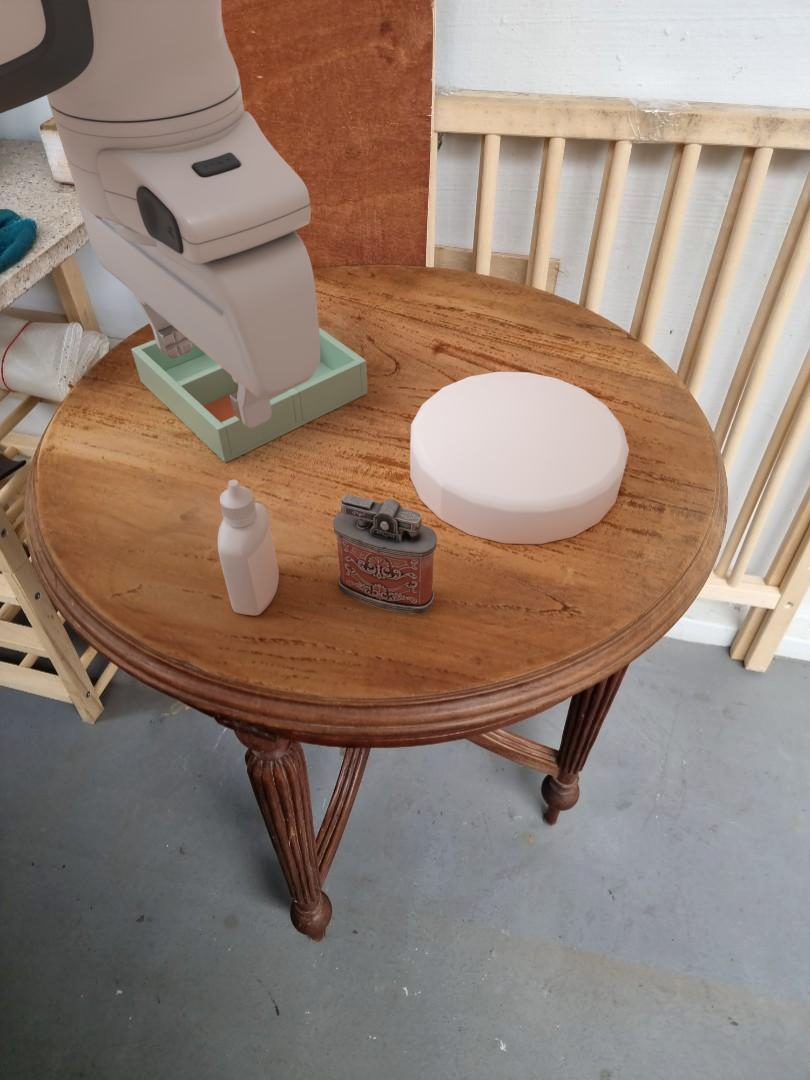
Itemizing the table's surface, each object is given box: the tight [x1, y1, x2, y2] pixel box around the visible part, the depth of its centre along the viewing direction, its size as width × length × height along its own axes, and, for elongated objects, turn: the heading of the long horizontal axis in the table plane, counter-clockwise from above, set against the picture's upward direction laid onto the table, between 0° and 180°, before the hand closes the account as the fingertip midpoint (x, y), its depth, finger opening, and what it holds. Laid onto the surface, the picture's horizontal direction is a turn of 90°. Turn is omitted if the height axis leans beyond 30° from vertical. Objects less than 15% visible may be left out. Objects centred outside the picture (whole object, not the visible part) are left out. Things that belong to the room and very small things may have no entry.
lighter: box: [332, 494, 438, 615], centre depth 60 cm, size 8×3×10 cm, turn 71°
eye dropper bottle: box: [217, 479, 280, 617], centre depth 59 cm, size 4×6×12 cm
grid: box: [131, 326, 368, 464], centre depth 81 cm, size 17×17×4 cm
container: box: [409, 371, 630, 545], centre depth 72 cm, size 20×20×5 cm
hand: (213, 383), depth 49 cm, fingers open, 8 cm apart
